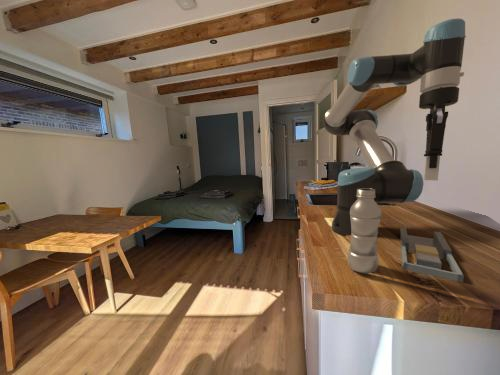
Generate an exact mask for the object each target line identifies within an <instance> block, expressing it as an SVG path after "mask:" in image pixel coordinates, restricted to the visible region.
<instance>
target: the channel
mask: <svg viewBox="0 0 500 375" xmlns="http://www.w3.org/2000/svg"><path fill="white" fill-rule="evenodd" d="M399 230H400V231H399V237H400V239H399V241H400V249H402V246H405V248H406V253H411V254H414V247H415V244H417V245H423V246H429V247H435V248H436V249H437V251H438V254H439V259H440V260H447V254H451V255H452V256H453V254H452V253H453V252H452V251H453V250H452V249H451V247H450V245H449V243H448V242H447V240H446V239H445V237H444V235H443V234H442V232H441V231H433V238H430V237H422V236H416V235H410V234H408V231H407V227H405V226H400V229H399Z"/></svg>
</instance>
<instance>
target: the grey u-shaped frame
mask: <svg viewBox="0 0 500 375" xmlns="http://www.w3.org/2000/svg"><path fill="white" fill-rule="evenodd" d="M400 249H401V248H400ZM401 261H402V262H401V263H402V270H405V271H411V272H415V273H418V274H422V275H423V274H424V275H428V276H432V277H437V278H441V279H445V280H450V281H454V282H458V283H464V280H465V279H464V277H465V276H464V274H463V272H462V270H461V269H460V266H459V265H458V263H457V262H456V260H455V258H454V256H453V254H452V255H451V254H447V259H446V262H447V263H448V265H449V267H450V269H451V271H448V270H444V269H441V270H440V269H435V268H430V267H426V266H421V265H416V263H411V262H408V257H407V252H406V248H405V246H402V249H401Z"/></svg>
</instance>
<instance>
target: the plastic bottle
mask: <svg viewBox="0 0 500 375" xmlns="http://www.w3.org/2000/svg"><path fill="white" fill-rule="evenodd" d="M356 197H358V199H357V200H356V201H355V203H354V204H353V205H352V206H351V208H350V219H351V232H352V233H351V235H350V244H349V249H348V253H347V257H346V258H347V264H348V266H349V268H351V270H353V271H355V272H357V273H360V274H365V275H366V274H367V275H368V274H373V273H375V272H376V271H377V270H378V266H379V262H380V261H379V254H378V234H379V226H380V223H381V217H382V209H381V207H380V206H379V203H376V202H375V201H374V198H375V197H376V196H375V189H368V188H360V189H357V195H356Z"/></svg>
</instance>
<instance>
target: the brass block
mask: <svg viewBox="0 0 500 375" xmlns="http://www.w3.org/2000/svg"><path fill="white" fill-rule="evenodd" d="M416 252H421V253H427V254H432V255H438V256H439V254H438V251H437V249H436V248H435V247H429V246H423V245H417V244H415V247H414V253H413V256H414V257H415V254H416Z"/></svg>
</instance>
